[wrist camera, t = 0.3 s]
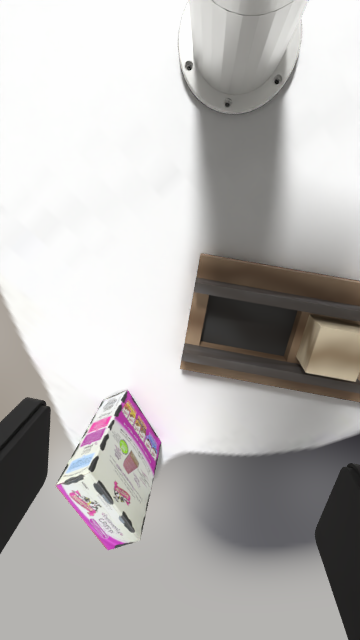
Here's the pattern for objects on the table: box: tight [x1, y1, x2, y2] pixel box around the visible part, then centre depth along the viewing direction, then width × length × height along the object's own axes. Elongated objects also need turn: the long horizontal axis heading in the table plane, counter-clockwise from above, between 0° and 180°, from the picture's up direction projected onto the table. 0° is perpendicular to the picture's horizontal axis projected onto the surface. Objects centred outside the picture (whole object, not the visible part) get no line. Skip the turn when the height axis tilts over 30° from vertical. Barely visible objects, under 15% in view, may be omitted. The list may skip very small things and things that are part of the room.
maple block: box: [296, 315, 360, 382], centre depth 39 cm, size 6×6×4 cm
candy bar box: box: [56, 390, 161, 550], centre depth 43 cm, size 11×5×16 cm, turn 28°
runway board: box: [180, 253, 360, 402], centre depth 41 cm, size 16×38×5 cm, turn 81°
